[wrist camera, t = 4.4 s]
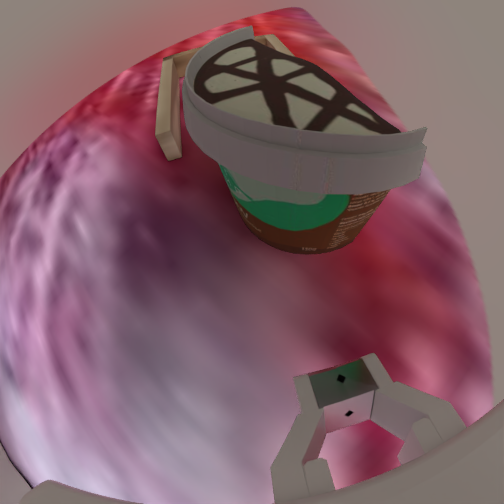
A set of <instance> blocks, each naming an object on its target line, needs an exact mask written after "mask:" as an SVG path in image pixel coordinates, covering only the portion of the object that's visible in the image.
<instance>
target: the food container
mask: <svg viewBox="0 0 504 504" xmlns="http://www.w3.org/2000/svg"><path fill="white" fill-rule="evenodd" d="M182 97H183V110H184V119H185V124H186V128H187V130H188V132H189V134H190V136H191V138H192V140H193V141H194V142H195V143H196V145H197V146H198V147H199V148H200V149H201V150H202V151H203V152H204V153H205V154H206V155H208V156H209V157H211V158H212V159H213V160H215V161H216V162H217V163H218V164H219V167H220V169H221V171H222V174H223V176H224V178H225V181H226V183H227V185H228V188H229V190H230V192H231V195H232V197H233V199H234V202H235V204H236V206H237V209H238V211H239V213H240V216H241V217H242V219H243V221H244V223H245V225H246V226H247V227H248V228H249V229H250V231H251V232H252V233H253V234H254V235H256V236H257V237H258V238H259V239H260V240H262V241H263V242H265V243H267V244H268V245H270V246H272V247H275V248H277V249H280V250H283V251H287V252H290V253H296V254H321V253H326V252H331V251H334V250H337V249H339V248H342V247H344V246H346V245H347V244H349V243H351V242H352V241H353V240H354V239H355V237H356V236H357V235H358V233H359V232H360V231H361V229H362V228H363V227H364V225H365V224H366V223H367V221H368V220H369V219H370V217H371V216H372V215H373V213H374V212H375V211H376V209H377V208H378V206H379V205H380V204H381V202H382V201H383V199H384V198H385V197H386V195H387V194H388V192H389V191H390V190H391V189H392V188H396V187H400V186H403V185H406V184H408V183H410V182H412V181H414V180H416V179H418V178H419V176H420V172H421V168H422V165H423V161H424V157H425V152H426V149H427V147H426V146H425V145H424V144H423V143H422V141H423V139H424V136H425V133H426V130H427V128H426V127H423V128H420V129H417V130H413V131H409V132H402V133H401V132H400V130H399V129H397V128H396V127H394V126H393V125H391V124H390V123H388V122H387V121H385V120H384V119H382V118H381V117H380V116H379V115H377V114H376V113H375V112H374V111H373V110H371V109H370V108H369V107H368V106H366V105H365V104H364V103H362V102H361V101H360V100H359V99H357V98H356V97H355V96H354V95H353V94H352V93H350V92H349V91H348V90H347V89H346V88H345V87H344V86H342V85H341V84H340V83H339V82H338V81H337V80H335V79H334V78H333V77H332V76H331V75H329V74H328V73H327V72H325V71H324V70H323V69H321V68H320V67H318V66H317V65H315V64H313V63H311V62H308V61H306V60H303V59H301V58H297V57H294V56H291V55H287V54H285V53H282V52H279V51H276V50H274V49H272V48H270V47H268V46H266V45H264V44H262V43H260V42H257V41H255V38H254V33H253V28H252V26H249V27H245V28H241V29H238V30H235V31H232V32H229V33H227V34H224V35H222V36H220V37H218V38H216V39H214V40H213V41H211V42H209V43H208V44H206V45H205V46H203V47H202V48H201V49H200V50H198V51H197V52H196V53H195V55H194V56H193V57H192V58H191V59H190V61H189V63H188V65H187V67H186V71H185V78H184V80H183V87H182Z"/></svg>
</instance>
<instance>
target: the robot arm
mask: <svg viewBox="0 0 504 504" xmlns="http://www.w3.org/2000/svg"><path fill="white" fill-rule="evenodd" d="M293 380H294V385H295V390H296V395H297V400H298V405H299V409H300V413H301V414H298V415H297V417H296V419H295V422H294V424H293V426H292V428H291V430H290V432H289V434H288V436H287V438H286V440H285V442H284V444H283V445H282V447H281V449H280V451H279V453H278V455H277V457H276V459H275V460H274V462H273V464H272V466H271V468H270V469H271V476H272V484H273V492H274V499H275V503H274V504H504V399H503V400H502V401H501V402H500V403H499V404H497V405H496V406H495V407H494V408H493V409H491V410H490V411H489V412H488V413H486V414H485V415H484V416H482V417H481V418H480V419H479V420H477V421H476V422H474V423H473V424H472V425H470V426H469V427H466V426H465V424H464V423H463V421H462V420H461V418H460V417H459V415H458V414H457V412H456V411H455V409H454V408H453V406H452V405H451V404H450V402H447V401H445V400H442V399H440V398H437V397H434V396H432V395H429V394H427V393H424V392H422V391H419V390H417V389H415V388H412V387H410V386H407V385H405V384H403V383H400V382H398V381H397V382H393V381H392V379H391V378H390V376H389V375H388V373H387V371H386V370H385V368H384V367H383V365H382V364H381V362H380V360H379V359H378V357H377V356H376V354H374V353H371V354H368V355H366V356H363V357H360V358H357V359H354V360H351V361H348V362H345V363H342V364H339V365H336V366H334V367H331V368H327V369H323V370H319V371H315V372H312V373H308V374H304V375H300V376H296V377H293ZM369 419H371V420H372V421H373V422H375V423H376V424H378V425H379V426H381V427H382V428H384V429H386V430H387V431H389V432H390V433H392V434H394V435H395V436H397V437H398V438H400V439H402V440H403V441H405V442H404V445H403V447H402V449H401V451H400V453H399V455H398V456H397V457H398V459H399V461H400V463H401V466H399V467H397V468H395V469H392V470H390V471H388V472H385V473H383V474H381V475H378V476H376V477H373V478H370V479H368V480H365V481H362V482H359V483H356V484H354V485H351V486H347V487H344V488H341V489H338V490H335V487H334V484H333V480H332V477H331V474H330V470H329V467H328V463H327V460H325V459H322V458H319V459H317V458H318V456H319V453H320V450H321V448H322V445H323V442H324V439H325V436H326V434H327V433H330V432H333V431H336V430H339V429H342V428H345V427H347V426H351V425H354V424H357V423H360V422H363V421H366V420H369ZM0 504H142V503H136V502H130V501H125V500H119V499H115V498H110V497H106V496H102V495H98V494H94V493H90V492H87V491H83V490H80V489H77V488H74V487H71V486H68V485H65V484H62V483H60V482H57V481H53V480H46V481H44V482H42V483H40V484H39V485H37V486H36V487H34V488H33V489H31V488H30V486H29V485H28V484H27V482H26V481H25V480H24V479H23V477H22V476H21V475H20V474H19V472H18V471H17V470H16V469H15V467H14V466H13V465H12V463H11V462H10V460H9V459H8V457H7V455H6V453H5V451H4V449H3V447H2V445H1V443H0Z"/></svg>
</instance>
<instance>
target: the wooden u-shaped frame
mask: <svg viewBox="0 0 504 504" xmlns="http://www.w3.org/2000/svg"><path fill="white" fill-rule="evenodd" d="M254 38H255V41H257V42H260V43H262V44H264V45H266V46H268V47H270V48H272V49H274V50H276V51H279V52H282V53H285V54H287V55H291V56H294V55H293V54H292V53H291V52H290V51H289V50H288V49H287V48H286V47H285V45H284V44H283V43H282V42H281V41H280V40H279V39H278V38H277V37H276V36H275V35H274V34H271V35H262V36H255V37H254ZM201 48H202V47H199V48H196V49H192V50H188V51H185V52H181V53H178V54H175V55H171V56H168V57H165V58H163V63H162V71H161V78H160V86H159V95H158V105H157V117H156V130H155V136H156V138H157V140H158V142H159V144H160V146H161V148H162V150H163V152H164V154H165V156H166V158H167V160H168V161H170V160H174V159H177V158H180V157H182V148H181V128H180V99H179V78H180V77H183V76H185V71H186V67H187V65H188V63H189V61H190V59H191V58H192V57H193V56H194V55H195V53H196V52H197V51H198V50H200V49H201ZM294 57H295V56H294Z"/></svg>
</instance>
